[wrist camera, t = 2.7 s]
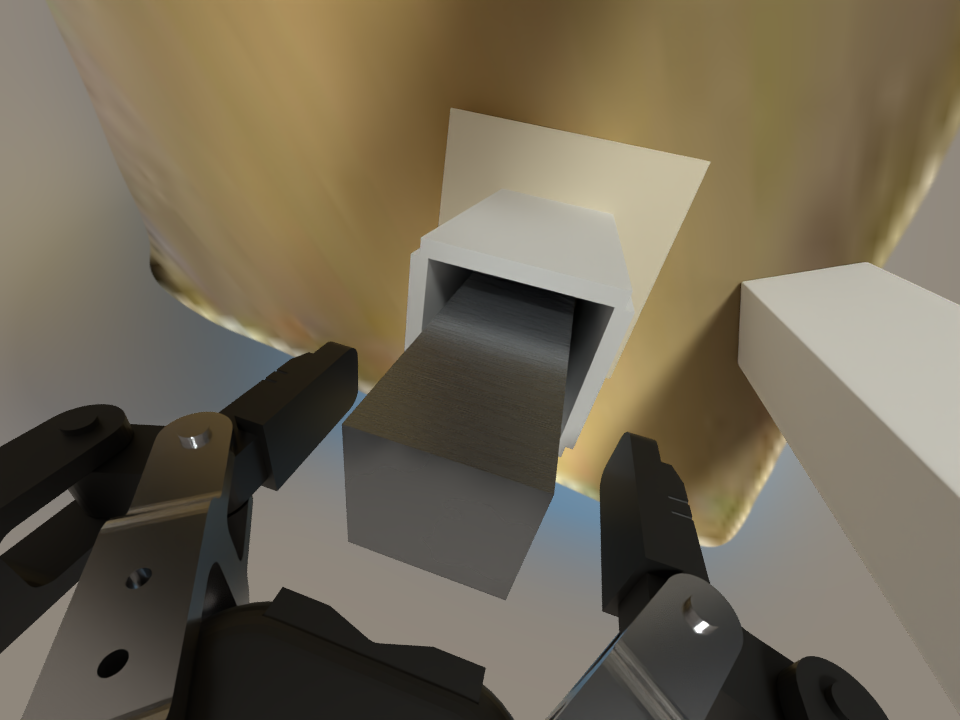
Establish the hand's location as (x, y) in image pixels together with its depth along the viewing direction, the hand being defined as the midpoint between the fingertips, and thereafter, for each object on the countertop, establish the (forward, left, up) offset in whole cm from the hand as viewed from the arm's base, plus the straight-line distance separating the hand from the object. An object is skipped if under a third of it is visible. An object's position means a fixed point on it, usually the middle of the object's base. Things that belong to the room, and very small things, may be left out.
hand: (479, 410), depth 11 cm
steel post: (0, 0, -15) cm, 15 cm away
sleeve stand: (0, 0, -17) cm, 17 cm away
